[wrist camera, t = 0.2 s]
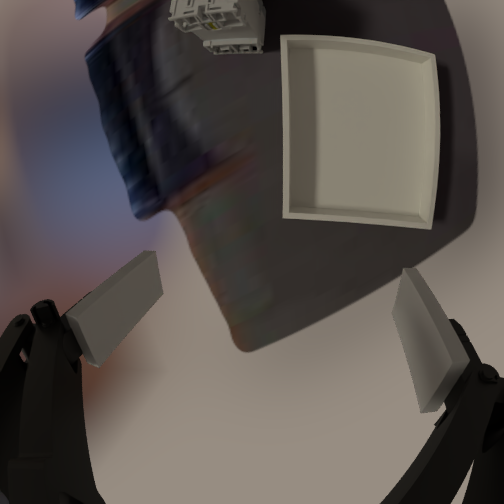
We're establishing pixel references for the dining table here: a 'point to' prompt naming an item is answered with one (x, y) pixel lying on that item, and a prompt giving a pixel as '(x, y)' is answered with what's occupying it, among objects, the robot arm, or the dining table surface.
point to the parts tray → (359, 131)
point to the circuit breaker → (222, 23)
